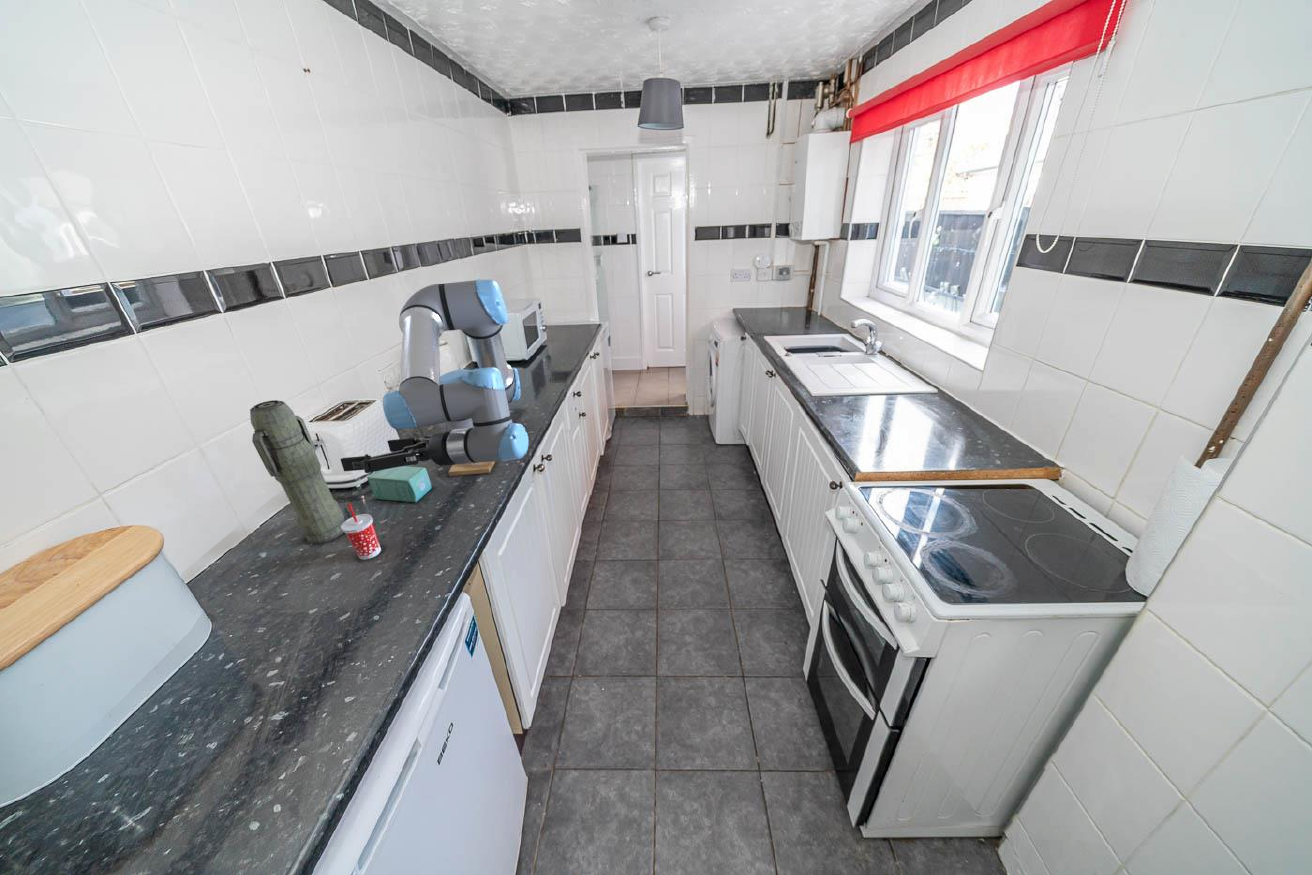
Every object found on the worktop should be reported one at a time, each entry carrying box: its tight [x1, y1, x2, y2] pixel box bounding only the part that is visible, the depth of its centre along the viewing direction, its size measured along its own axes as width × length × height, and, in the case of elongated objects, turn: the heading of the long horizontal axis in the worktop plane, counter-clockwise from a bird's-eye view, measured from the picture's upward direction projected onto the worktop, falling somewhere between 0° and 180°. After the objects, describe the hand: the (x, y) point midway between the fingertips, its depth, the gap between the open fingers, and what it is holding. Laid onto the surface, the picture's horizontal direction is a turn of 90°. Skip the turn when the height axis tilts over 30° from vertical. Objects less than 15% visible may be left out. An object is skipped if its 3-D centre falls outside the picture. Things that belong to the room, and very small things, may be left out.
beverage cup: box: [341, 502, 382, 561], centre depth 103 cm, size 6×6×14 cm
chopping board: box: [448, 462, 496, 477], centre depth 144 cm, size 18×12×2 cm, turn 5°
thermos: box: [249, 399, 346, 545], centre depth 106 cm, size 9×12×35 cm
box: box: [366, 465, 432, 503], centre depth 127 cm, size 7×14×8 cm, turn 79°
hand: (368, 454), depth 100 cm, fingers open, 13 cm apart
